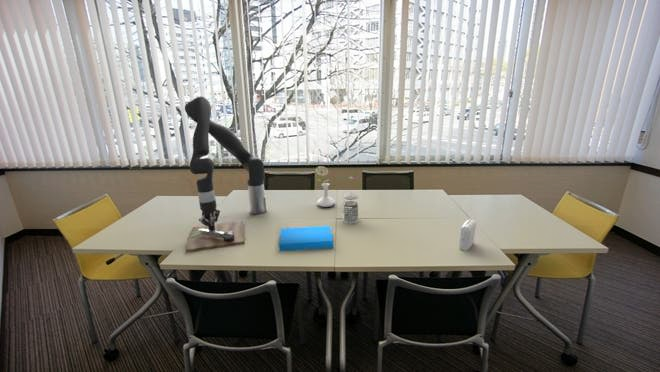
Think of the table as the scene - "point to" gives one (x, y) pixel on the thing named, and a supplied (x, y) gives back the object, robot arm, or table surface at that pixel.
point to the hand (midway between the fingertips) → (212, 231)
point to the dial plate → (210, 242)
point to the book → (305, 238)
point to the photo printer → (467, 235)
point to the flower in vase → (325, 200)
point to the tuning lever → (219, 234)
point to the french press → (353, 212)
